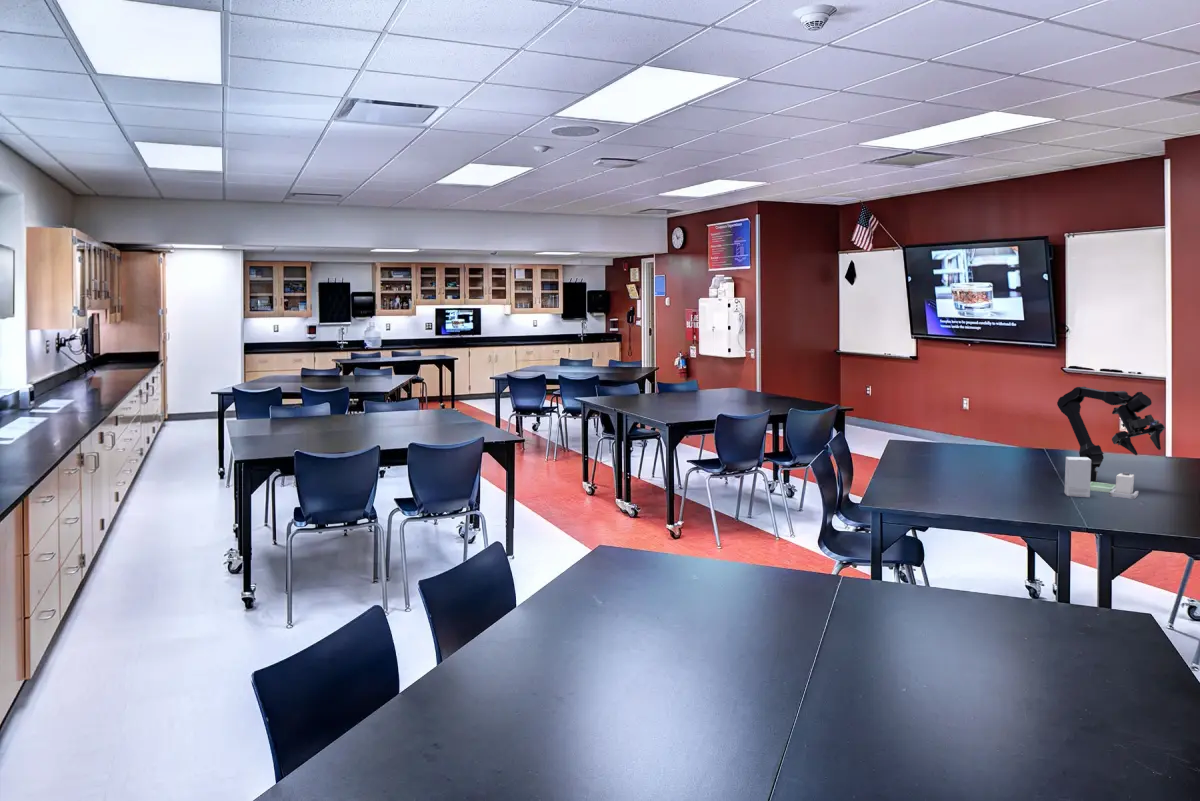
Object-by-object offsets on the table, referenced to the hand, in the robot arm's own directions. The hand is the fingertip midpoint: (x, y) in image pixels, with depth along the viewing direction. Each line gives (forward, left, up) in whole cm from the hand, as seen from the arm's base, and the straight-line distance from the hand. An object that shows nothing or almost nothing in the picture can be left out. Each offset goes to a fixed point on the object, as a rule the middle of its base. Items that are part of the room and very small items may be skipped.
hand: (1148, 452), depth 335 cm
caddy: (-6, -9, -17) cm, 20 cm away
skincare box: (-21, -21, -17) cm, 34 cm away
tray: (-15, -2, -17) cm, 23 cm away
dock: (-6, -9, -17) cm, 21 cm away
